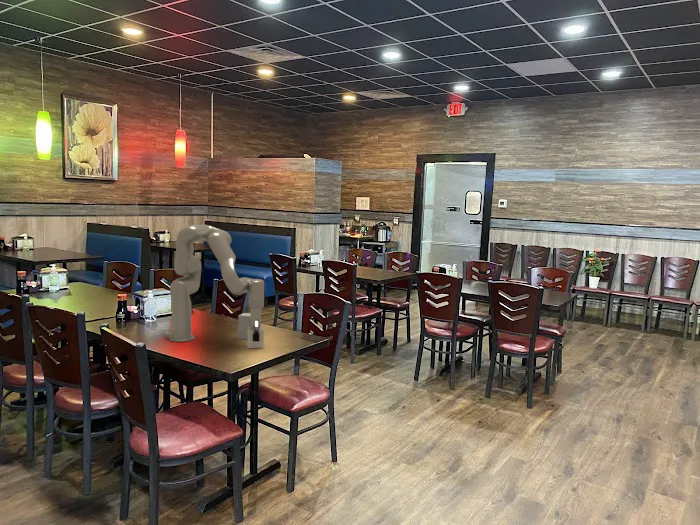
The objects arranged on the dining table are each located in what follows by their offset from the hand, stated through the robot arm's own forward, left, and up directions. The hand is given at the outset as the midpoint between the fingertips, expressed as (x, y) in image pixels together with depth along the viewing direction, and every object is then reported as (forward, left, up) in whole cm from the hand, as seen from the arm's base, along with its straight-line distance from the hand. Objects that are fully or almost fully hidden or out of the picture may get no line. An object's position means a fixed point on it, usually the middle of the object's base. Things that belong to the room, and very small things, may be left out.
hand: (255, 338), depth 272 cm
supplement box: (-4, +17, -4) cm, 18 cm away
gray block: (0, 0, -4) cm, 4 cm away
